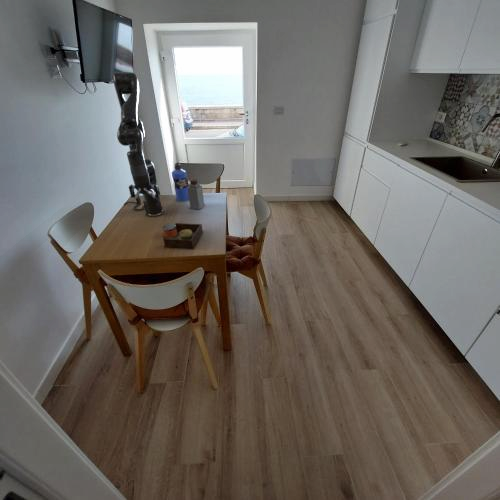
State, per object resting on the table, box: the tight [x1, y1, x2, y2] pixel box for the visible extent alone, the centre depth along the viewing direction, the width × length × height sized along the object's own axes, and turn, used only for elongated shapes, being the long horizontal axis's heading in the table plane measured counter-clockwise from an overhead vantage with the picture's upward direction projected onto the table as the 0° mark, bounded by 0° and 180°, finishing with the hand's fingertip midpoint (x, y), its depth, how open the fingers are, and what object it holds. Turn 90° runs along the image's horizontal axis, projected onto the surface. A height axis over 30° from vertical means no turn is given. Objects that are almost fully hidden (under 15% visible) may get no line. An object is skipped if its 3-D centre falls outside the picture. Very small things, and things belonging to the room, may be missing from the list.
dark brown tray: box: [163, 222, 204, 250], centre depth 144 cm, size 15×17×5 cm
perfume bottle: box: [187, 178, 205, 210], centre depth 174 cm, size 7×7×18 cm
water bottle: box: [171, 162, 189, 202], centre depth 184 cm, size 9×9×25 cm
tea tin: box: [179, 229, 193, 240], centre depth 140 cm, size 6×6×7 cm
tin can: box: [162, 223, 178, 239], centre depth 148 cm, size 7×7×6 cm
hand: (148, 204), depth 139 cm, fingers open, 8 cm apart
